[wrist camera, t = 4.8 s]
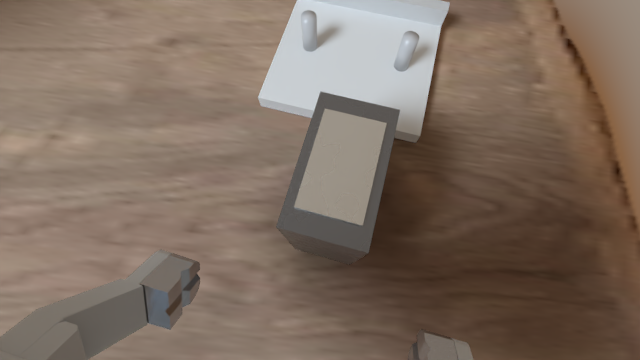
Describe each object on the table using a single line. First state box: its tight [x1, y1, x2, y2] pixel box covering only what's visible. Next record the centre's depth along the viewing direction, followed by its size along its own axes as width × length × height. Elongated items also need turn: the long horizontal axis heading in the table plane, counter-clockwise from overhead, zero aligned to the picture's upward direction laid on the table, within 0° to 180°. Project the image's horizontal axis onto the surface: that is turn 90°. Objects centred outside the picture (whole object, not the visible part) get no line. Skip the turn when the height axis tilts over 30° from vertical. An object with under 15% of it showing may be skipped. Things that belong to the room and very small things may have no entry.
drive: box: [276, 91, 400, 265], centre depth 18 cm, size 7×4×9 cm, turn 164°
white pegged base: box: [258, 0, 450, 143], centre depth 24 cm, size 12×13×4 cm
